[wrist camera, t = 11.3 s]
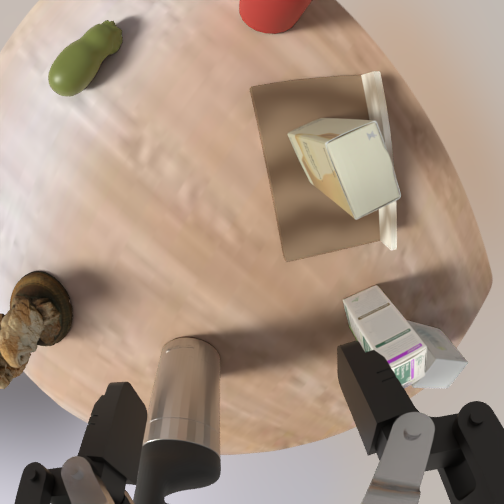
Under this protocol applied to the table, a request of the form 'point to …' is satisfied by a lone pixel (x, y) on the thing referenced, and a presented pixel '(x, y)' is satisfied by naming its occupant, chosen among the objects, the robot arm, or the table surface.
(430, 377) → the skincare box
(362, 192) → the skincare box
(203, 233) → the table surface
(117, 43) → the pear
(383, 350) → the syrup box
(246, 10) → the beer can
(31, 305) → the brown lumpy upright piece
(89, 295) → the table surface
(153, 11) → the table surface
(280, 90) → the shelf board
